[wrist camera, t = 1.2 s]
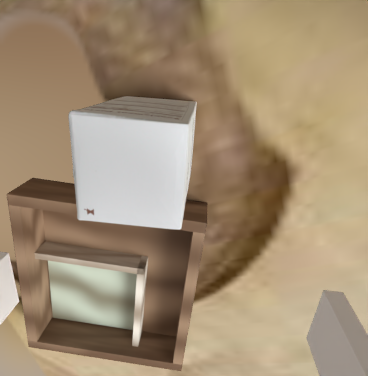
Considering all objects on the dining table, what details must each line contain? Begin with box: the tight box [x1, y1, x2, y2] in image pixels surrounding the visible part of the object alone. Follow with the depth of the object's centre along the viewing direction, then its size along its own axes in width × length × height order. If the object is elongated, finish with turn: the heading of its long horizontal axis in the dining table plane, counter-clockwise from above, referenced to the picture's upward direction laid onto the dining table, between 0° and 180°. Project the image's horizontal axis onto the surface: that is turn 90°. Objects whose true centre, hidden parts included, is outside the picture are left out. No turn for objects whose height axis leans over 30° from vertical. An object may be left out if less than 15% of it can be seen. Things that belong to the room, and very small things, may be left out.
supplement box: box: [69, 96, 197, 230], centre depth 23 cm, size 7×7×13 cm
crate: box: [7, 178, 207, 371], centre depth 34 cm, size 22×20×4 cm
